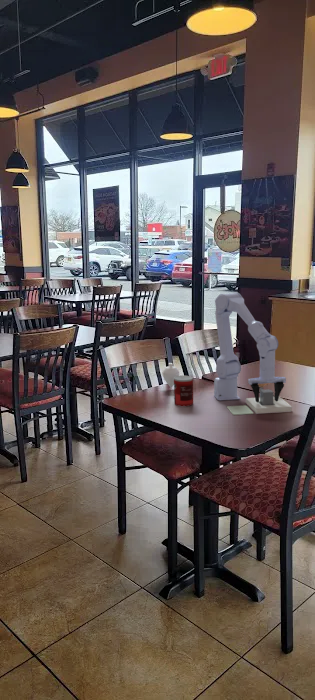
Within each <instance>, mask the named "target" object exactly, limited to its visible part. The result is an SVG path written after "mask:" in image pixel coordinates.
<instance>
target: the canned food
mask: <svg viewBox="0 0 315 700" xmlns="http://www.w3.org/2000/svg"><path fill="white" fill-rule="evenodd" d="M173 396H174V397H173V399H174V404H175V405H176V406H177V407H190V406H193V404H194V378H193V376H190V375H179V376H176V377H174V385H173Z"/></svg>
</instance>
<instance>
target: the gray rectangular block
mask: <svg viewBox="0 0 315 700" xmlns="http://www.w3.org/2000/svg"><path fill="white" fill-rule="evenodd" d="M274 394H275V391H272V389H263V390H259V398H260V404H261V405H262V406H265V405H273V397H274Z"/></svg>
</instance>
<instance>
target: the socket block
mask: <svg viewBox="0 0 315 700" xmlns="http://www.w3.org/2000/svg"><path fill="white" fill-rule="evenodd" d="M259 387H260V386H259ZM260 390H264V387H260ZM260 390H259V391H260ZM245 404H247V407H248V408H249V409H250V410H251V411H252V412H253V413H254V414H256V415H257V414H271V413H272V414H273V413H275V414H276V413H288V412H290V413H291V412H293V407H292V405H291V404H289V403H288V402H287V401H286V400H284V399H283V398H282V397H280V396H279V398H278V401H275V399H274V396H273V405H265V406H262V405H261V404H260V397H259V402H256V400H255V397H247V398H245Z"/></svg>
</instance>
